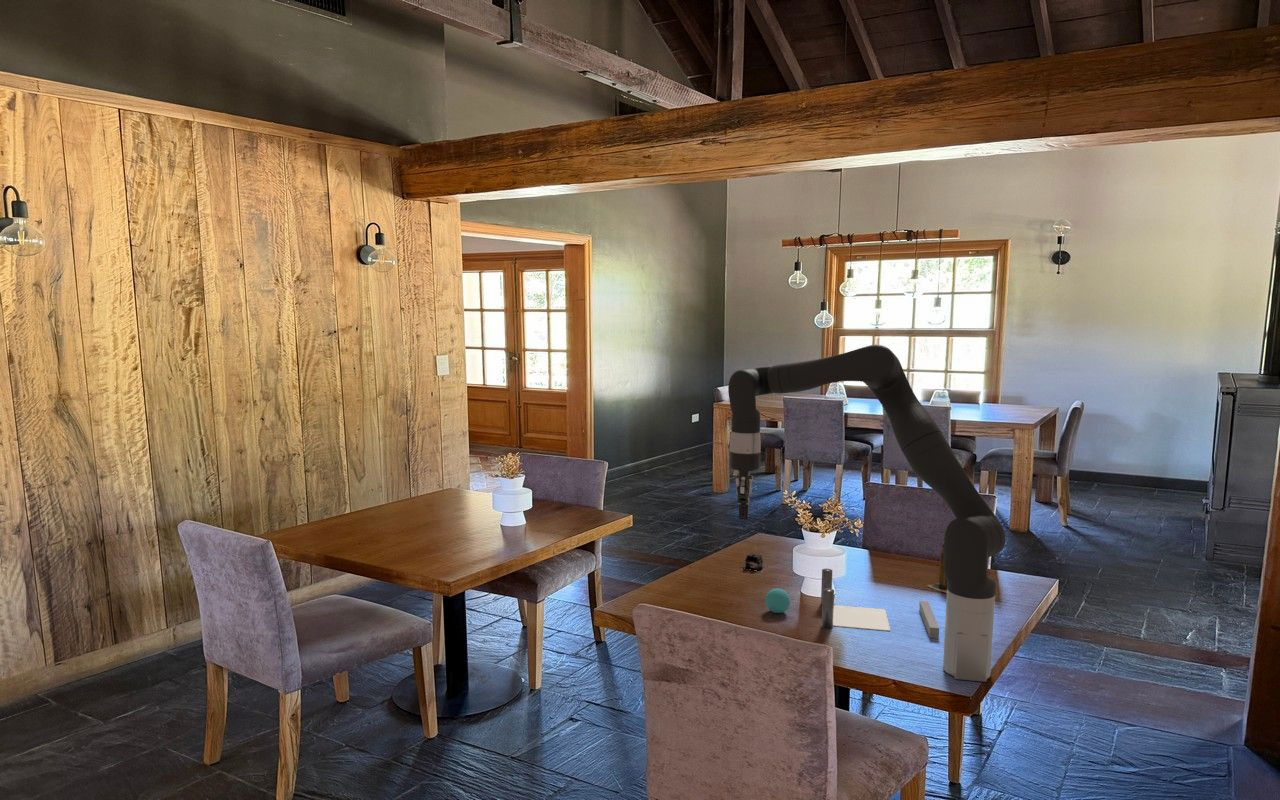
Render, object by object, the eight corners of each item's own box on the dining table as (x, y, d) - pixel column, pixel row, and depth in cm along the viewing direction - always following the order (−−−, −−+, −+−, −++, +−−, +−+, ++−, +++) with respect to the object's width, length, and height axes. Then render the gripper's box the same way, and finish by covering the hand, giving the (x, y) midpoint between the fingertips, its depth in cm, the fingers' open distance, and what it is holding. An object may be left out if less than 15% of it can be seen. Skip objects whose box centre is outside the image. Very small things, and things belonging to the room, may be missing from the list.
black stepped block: (729, 569, 236) (729, 554, 235) (740, 563, 242) (741, 548, 241) (768, 577, 229) (768, 561, 228) (778, 570, 235) (779, 555, 234)
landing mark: (890, 631, 189) (890, 630, 189) (829, 625, 192) (829, 625, 192) (885, 610, 202) (885, 609, 202) (828, 605, 205) (828, 604, 205)
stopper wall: (938, 638, 185) (939, 628, 184) (929, 637, 185) (930, 627, 185) (927, 610, 202) (928, 601, 202) (919, 610, 202) (919, 600, 202)
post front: (832, 629, 189) (834, 592, 188) (821, 628, 190) (823, 591, 189) (832, 625, 192) (834, 588, 191) (821, 624, 192) (822, 588, 191)
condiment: (969, 589, 219) (971, 546, 218) (949, 594, 215) (952, 550, 213) (946, 581, 225) (948, 539, 224) (926, 586, 221) (928, 544, 219)
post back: (831, 606, 205) (832, 572, 204) (820, 605, 205) (822, 571, 204) (831, 602, 207) (832, 569, 206) (820, 602, 208) (821, 568, 207)
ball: (789, 617, 196) (790, 594, 196) (764, 615, 198) (765, 592, 197) (789, 609, 202) (790, 586, 202) (765, 607, 203) (766, 584, 203)
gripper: (758, 455, 190) (756, 526, 192) (762, 446, 203) (760, 513, 205) (727, 453, 192) (725, 524, 194) (732, 445, 205) (730, 511, 206)
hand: (743, 518), depth 199 cm, fingers closed
